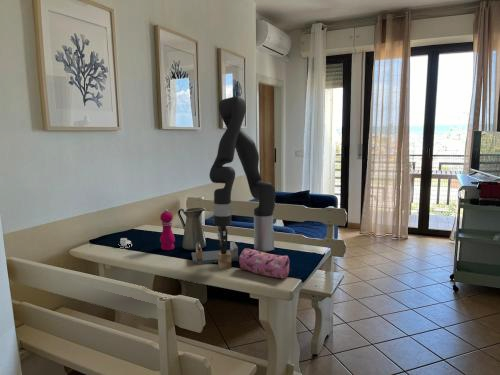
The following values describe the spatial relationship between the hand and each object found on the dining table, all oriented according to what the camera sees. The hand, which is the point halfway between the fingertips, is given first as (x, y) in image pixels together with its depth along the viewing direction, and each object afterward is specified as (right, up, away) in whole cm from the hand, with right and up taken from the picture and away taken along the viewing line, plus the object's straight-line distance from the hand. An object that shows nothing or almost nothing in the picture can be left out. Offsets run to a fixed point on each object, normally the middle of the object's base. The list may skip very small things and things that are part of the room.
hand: (222, 250), depth 157 cm
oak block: (+1, -7, +1) cm, 7 cm away
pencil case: (+18, -8, -7) cm, 21 cm away
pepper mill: (-29, -3, +26) cm, 39 cm away
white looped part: (-50, -3, +32) cm, 59 cm away
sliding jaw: (-11, -4, +9) cm, 15 cm away
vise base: (-4, -5, +11) cm, 13 cm away
